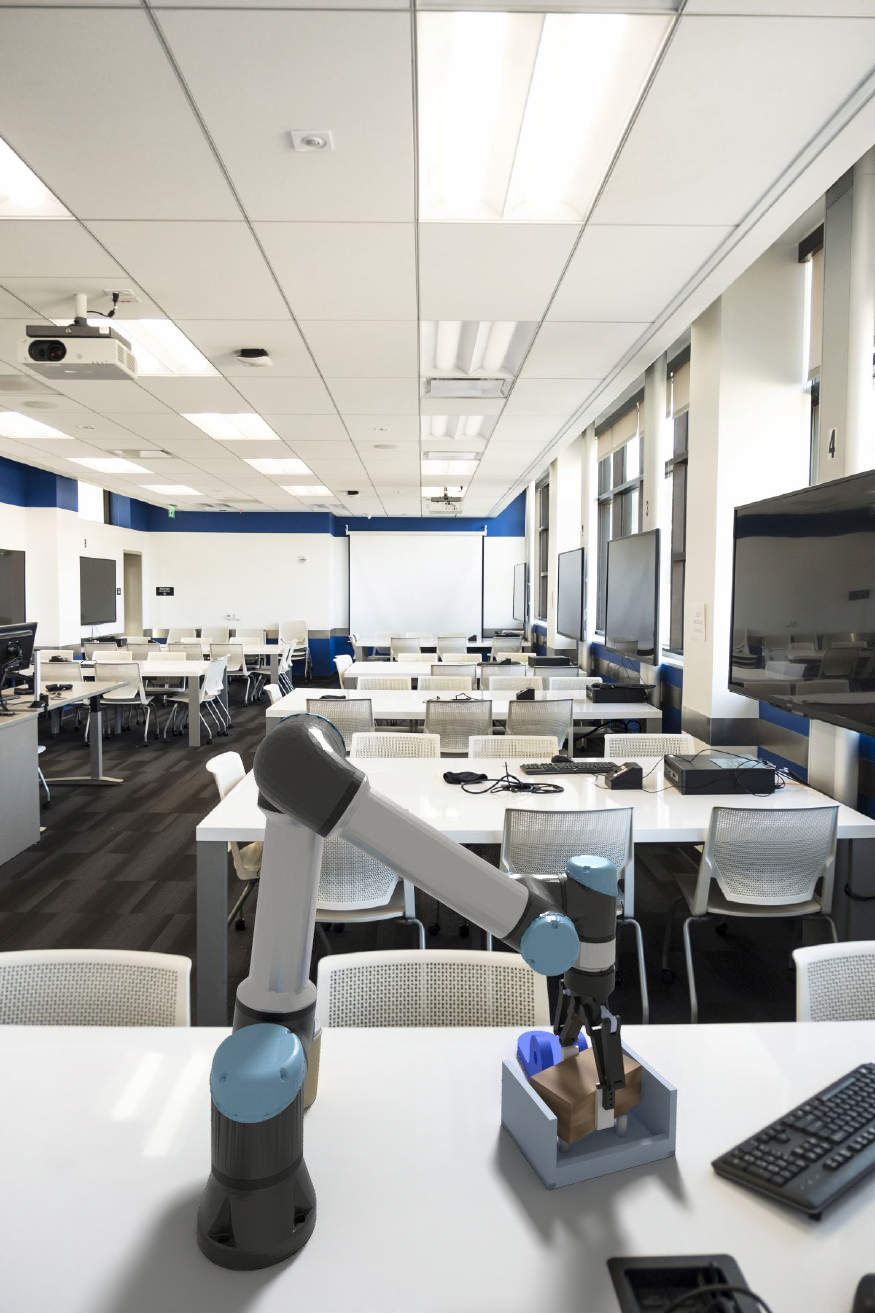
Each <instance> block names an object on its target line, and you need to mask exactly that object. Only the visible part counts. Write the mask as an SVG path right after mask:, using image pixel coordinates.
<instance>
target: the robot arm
mask: <svg viewBox="0 0 875 1313" xmlns="http://www.w3.org/2000/svg"><path fill="white" fill-rule="evenodd" d="M252 766H253V768H252V771H253V777H254V781H255V783H256V786H257V787H258V792H257V803H256V806H257V808H258V809H259V810H260V811H261V812H262V813H263V814H264V816H265V819H266V820H265V828H264V837H263V846H262V855H261V856H262V857H261V863H260V876H259V884H258V892H257V900H256V901H257V902H256V911H255V918H254V919H255V921H254V927H253V928H254V930H253V936H252V949H251V956H250V966H249V972H248V973H249V974H248V976H247V977H246V978H245V979H243V980H242V981H241V982H240V983H239V984H238V986H237V989H236V994H235V1005H234V1011H233V1012H234V1014H233V1023H232V1030H231V1034H230V1035H228V1036H226V1038H224V1040H223V1041H222V1042H220V1044H219V1046H218V1047H217V1048H216V1051H215V1052H214V1055H213V1058H212V1062H211V1067H210V1072H209V1079H208V1080H209V1093H210V1159H211V1161H210V1172H209V1175H208V1178H207V1181H206V1184H205V1187H204V1190H203V1193H202V1196H201V1200H200V1203H199V1205H198V1208H197V1209H198V1210H197V1214H196V1240H197V1244H198V1247H199V1248H200V1251H201V1252H202V1253H203V1255H205V1257H206V1258H208V1259H209V1260H210V1261H211V1262H212V1263H215V1264H216V1265H218V1266H221V1267H223V1268H226V1269H232V1270H240V1271H245V1270H246V1271H249V1270H257V1269H263V1268H267V1267H270V1266H273V1265H276V1264H278V1263H280V1262H282V1261H284V1260H286V1259H287V1258H289V1257H290V1256H292V1255H293V1254H294V1253H296V1252H298V1251H299V1250H300V1249H301V1248H302V1247H303V1246H304V1245H305V1244H306V1242H307V1241H308V1240H309V1238H310V1237H311V1235H312V1233H313V1231H314V1229H315V1226H316V1223H317V1222H316V1221H317V1215H318V1214H317V1209H318V1208H317V1206H318V1203H317V1194H316V1189H315V1186H314V1185H313V1181H312V1178H311V1175H310V1173H309V1170H308V1166H307V1163H306V1161H305V1158H304V1112H305V1111H304V1109H305V1108H304V1094H305V1087H306V1080H307V1072H308V1066H309V1059H310V1052H311V1045H312V1042H313V1038H314V1034H315V1016H316V1010H317V1009H316V1008H317V997H318V990H317V987H316V985H315V984H314V983H313V982H312V980H310V979H309V977H310V970H311V969H310V968H311V961H312V950H313V945H314V944H313V940H314V933H315V923H316V916H317V915H316V914H317V906H318V897H319V890H320V882H321V872H322V862H323V853H324V845H325V844H324V843H325V840H328V839H333V838H339V839H341V840H342V841H343V842H345V843H347V844H349V845H350V846H352V847H353V848H355V849H357V850H358V851H359V852H361V853H362V854H364V855H366V856H367V857H369V858H371V859H372V860H374V861H376V862H377V863H378V864H380V865H382V866H383V867H385V868H387V869H388V870H390V871H391V872H393V873H394V874H396V875H398V876H399V877H401V878H403V879H404V880H406V882H408V883H410V884H412V885H413V886H415V887H417V888H418V889H420V890H421V891H423V892H424V893H426V894H428V896H431V897H433V899H435V900H437V901H439V902H440V903H441V904H443V905H445V906H446V907H448V908H450V909H451V910H453V911H454V912H456V913H458V914H459V915H460V916H462V917H464V918H465V919H467V920H469V921H470V922H471V923H473V924H475V925H476V926H478V927H479V928H481V929H483V930H484V931H486V932H487V933H489V934H491V935H492V936H494V937H496V938H497V939H498V940H500V941H501V942H503V943H505V944H506V945H508V946H509V947H511V949H512V948H513V950H515V951H517V952H518V953H520V954H521V958H522V959H523V961H524V962H525V964H527V965H528V967H529V968H530V969H531V970H532V971H534V972H536V974H539V975H542V976H545V977H554V976H559V975H561V974H563V979H559V981H558V991H559V992H558V998H557V1005H556V1011H555V1017H554V1022H553V1027H552V1032H553V1034H554V1035H555V1036H558V1037H559V1044H560V1045H561V1062H562V1061H564V1060H566V1059H568V1058H570V1057H572V1056H574V1055H576V1054H578V1053H579V1047H578V1046H577V1045H573V1043H577V1042H580V1041H578V1040H579V1039H578V1035H579V1033H580V1031H582V1028H583V1025H584V1028H585V1033H586V1035H587V1036H588V1037H589V1038H590V1043H591V1047H592V1049H593V1053H594V1058H595V1063H596V1068H597V1073H598V1078H599V1083H596V1085H595V1086H596V1097H595V1128H596V1129H597V1130H601V1129H605V1128H609V1127H613V1126H614V1107H615V1090H618V1089H623V1088H625V1087H626V1081H625V1072H624V1062H623V1053H622V1043H621V1039H622V1035H621V1034H622V1033H621V1031H622V1029H621V1028H622V1018H621V1016H620V1015H618V1014H617V1015H613V1014H612V1013H611V1012H610V1006H609V1002H608V998H609V996H610V995H611V994H612V992H613V991H614V990H615V985H616V984H615V982H616V977H615V976H616V966H615V964H614V963H615V962H616V939H617V938H616V935H617V934H616V933H617V930H616V929H617V910H618V909H617V908H618V896H619V890H618V871H617V870H618V869H617V867H616V865H615V864H614V863H613V862H612V861H611V860H610V859H608V858H605V857H602V856H600V855H599V856H598V855H592V854H591V855H590V854H582V855H579V856H578V855H577V856H576V855H575V856H572V857H569V858H568V860H567V861H566V867H565V868H564V869H565V870H564V871H558V872H514V871H509V872H504V871H502V870H500V869H499V868H497V866H495V865H493V864H492V863H491V862H490V863H489V862H488V861H487V860H485V859H484V858H481V857H480V856H479V855H477V854H476V853H474V852H473V851H471V850H470V849H468V848H466V847H465V846H463V845H462V844H460V843H459V842H458V841H456V840H454V839H452V838H451V837H449V836H448V835H446V834H445V833H443V832H442V831H441V830H439V829H437V828H436V827H435V826H432V825H431V824H429V823H428V822H427V821H424V820H423V819H422V818H420V817H418V815H415V814H414V813H412V812H410V810H408V809H406V808H404V807H403V806H402V805H400V804H399V803H397V802H396V801H394V800H393V799H391V798H389V797H388V796H386V795H385V794H383V793H382V792H380V791H378V790H377V789H375V788H374V787H372V786H371V785H370V781H369V778H368V774H367V773H365V772H363V771H362V770H361V769H359V768H358V767H356V766H355V765H354V764H352V763H351V762H350V761H349V760H348V759H347V747H346V741H345V739H344V736H343V734H342V732H341V731H340V729H339V728H338V727H337V726H336V725H335V723H334V722H333V721H331V720H330V719H329V718H326V717H325V716H323V715H321V714H317V713H313V712H299V713H295V714H290V715H287V716H286V717H283V718H282V719H280V720H279V721H278V722H277V723H275V724H274V725H273V726H272V727H271V729H270V731H269V733H267V734H266V735H265V737H263V739H262V741H260V743H259V745H258V747H256V750H255V754H254V757H253V765H252ZM597 1027H600V1028H597ZM593 1028H595V1029H593Z"/></svg>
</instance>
